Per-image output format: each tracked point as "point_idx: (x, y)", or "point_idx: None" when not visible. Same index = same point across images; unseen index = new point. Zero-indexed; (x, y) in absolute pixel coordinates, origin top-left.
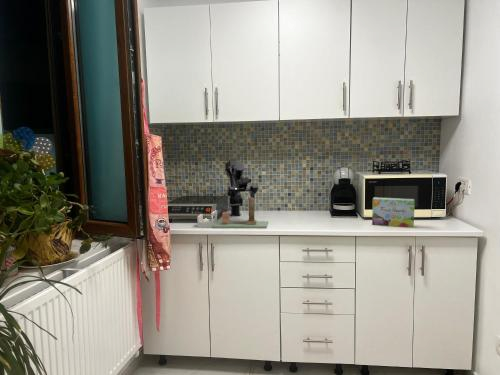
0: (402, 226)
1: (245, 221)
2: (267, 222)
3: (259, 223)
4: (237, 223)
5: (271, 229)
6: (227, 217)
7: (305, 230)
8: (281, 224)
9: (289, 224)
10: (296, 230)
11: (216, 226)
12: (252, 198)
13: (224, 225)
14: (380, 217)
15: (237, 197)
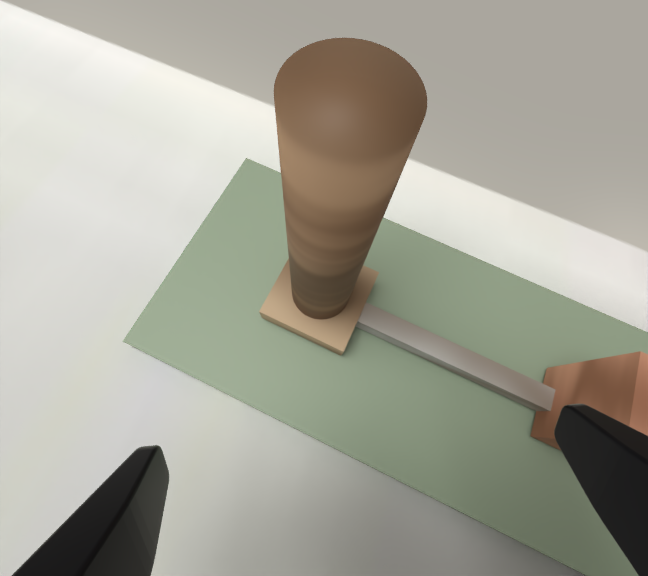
0: None
1: (381, 310)
2: (161, 287)
3: (249, 278)
4: None
5: (230, 126)
6: (597, 360)
7: (43, 26)
8: (62, 235)
9: (3, 208)
10: (94, 46)
11: (645, 333)
12: (338, 41)
13: (575, 332)
14: None
15: None
